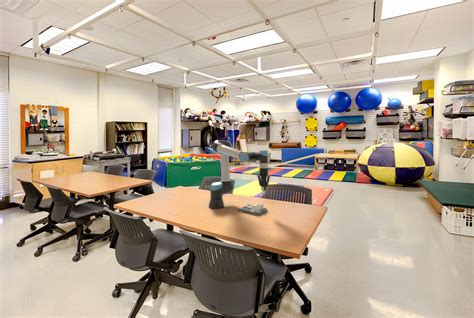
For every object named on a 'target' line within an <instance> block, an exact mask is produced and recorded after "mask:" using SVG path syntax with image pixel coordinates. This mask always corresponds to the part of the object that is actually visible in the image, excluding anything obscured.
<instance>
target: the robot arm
mask: <svg viewBox="0 0 474 318" xmlns="http://www.w3.org/2000/svg"><path fill="white" fill-rule="evenodd" d="M211 149H212V151H213V152H215V153H218V155H219V157H220V158H219V159H220V160H219V161H220V174H221V175H220V178H221V179H220V180H219V181H217V182H216V181H214V182H212V183H211V184H210V188H209V189H210V199H209V203H208V208H209V209H214V210H216V209H217V210H219V209H224V208H225V203H224V200H223V195H228V194H230V193H232V192H233V191H234V188H235V184H234V183H233V182H232V179H231V176H230V175H231V173H230V157H232V158H234V159H237V160H239V161H240V162H243V163H246V162H255V161H256V162H257V161H259V171H258V172H259V174H257V175H256V177H257V180H258V185H259V186H260V187H261V192H262V193H261V194H262V195H266V191H267V187H269V183H270V179H271V175H269V152H268V150H265V149H264V150H263V149H261V150H259V151H258V152H257V151H256V152H255V151H251V152H245V151H242V150H239V149H236V148H233V145H232V143H231V141H230V140H225V139H224V140H223V139H222V140H220V139H217V140H214V141H213V142H212V144H211Z"/></svg>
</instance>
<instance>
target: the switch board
mask: <svg viewBox="0 0 474 318" xmlns="http://www.w3.org/2000/svg"><path fill="white" fill-rule="evenodd" d="M252 205H253V204H247V205H243V206H242V207H238V208H237V211H238V212H240V213H244V214H249V215H254V216H257V217H259V216H260V215H263V214H265V213H267V212H268V209H267V207H263V209H262V210H259V209H258V211H251V207H252Z"/></svg>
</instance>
